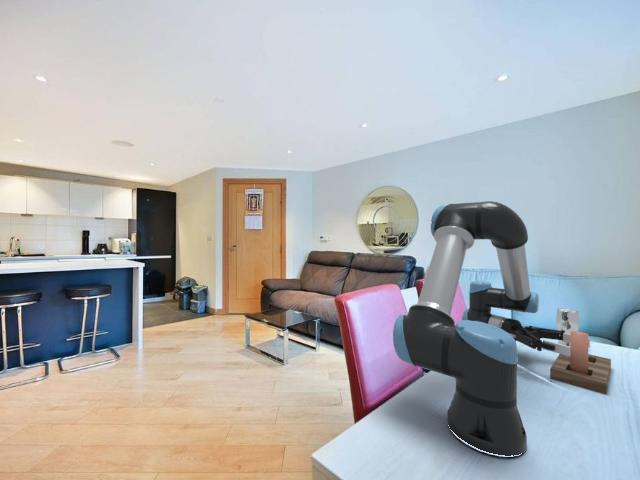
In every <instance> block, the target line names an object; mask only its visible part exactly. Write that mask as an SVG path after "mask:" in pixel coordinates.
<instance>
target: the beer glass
mask: <svg viewBox="0 0 640 480" xmlns="http://www.w3.org/2000/svg"><path fill="white" fill-rule="evenodd" d="M579 312H580V311H578V310H575V309H569V308H557V309H556V317H555V324H556V330H559V331H562V330H564V331H565V333H566V334H570V332H571V331H578V332H579V331H580V330H579V329H580V314H579ZM557 343H558V344H562V345H566V346H569V347H570V343H567V342H563V341H562V340H557Z"/></svg>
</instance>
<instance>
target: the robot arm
mask: <svg viewBox="0 0 640 480" xmlns="http://www.w3.org/2000/svg"><path fill="white" fill-rule="evenodd" d="M430 232H431V235H432V236H433V238H434V241H435V243H436V244H435V247H434V250H433V254H432V257H431V260H430V263H429V266H428V269H427V272H426V276H425V279H424V282H423V284H422V285H423V286H422V288H421V291H420V293H419V294H420V295H419V298H418V300H417V303H415V304H412V305H410V307H409V308H408V312H407V314H400V315H399V316H397V318H395V322H394V325H393V329H392V330H393V331H392V341H393V348H394V352H395V354H396V356H397V357H398V358H399V360H401V361H402V362H404V363H408V364H411V365H412V366H414V367H419V368H422V369H426V370H428V371H432V372H435V373H438V374H441V375H446V376H448V377H452V378H455V391H454V393H453V397H452V400H451V402H450V406H449V408H448V409H447V413H446V417H447V418H446V423H447V422H448V425H449V427H450V429H451V430H452V431H453V432H454V433H455V434H456V435H457V436H458V437H459V438H461V439H462V440H464V441H465V442H467V443H468V444H470V445H472V446H474V447H476V448H478V449H480V450H483V451H486V452H489V453H493V454H498V455H505V456H511V455H513V456H514V455H519V454H521V453H523V452H524V451H525V450H526V451H527V447H528V446H527V445H528V444H527V443H528V437H527V431H526V429H525V427H524V423H523V420H522V417H521V414H520V410H519V409H518V404H517V403H518V402H517V401H518V395H517V393H518V391H517V390H518V388H517V387H518V386H517V385H518V383H517V382H518V363H519V357H518V347H517V342H519V343H520V344H523V345H524V346H527V347H529V348H531V349H533V350H537V351H539V352H542V351H543V350H544V351H545V350H546V351H548V352H552V353H556V354H558V355H559V354H562V355H565V356H570V347H569V346H566V345H562V344H558V342H553V341H550V340H555V341H558V340H562V341H563V342H567V343H570V334H566V333H565V331H564V330H562V331H559V330H558V329H551V328H550V329H549V328H546V327H545V328H544V327H538V326H533V325H529V326H523V325H522V323H521V321H519V320H518V319H513V318H510V317H506V316H502V315H498V314H492V308H493V309H494V308H495V309H501V310H507V311H512V312H513V311H514V312H520V313H530V314H536V313H537V312H538V311H539V305H540V303H539V301H540V300H539V294H538V292H534V291H531V287H530V279H529V278H530V277H529V270H528V263H527V256H526V255H527V254H526V244H527V243H528V240H529V236H528V234H529V233H528V230H527V226H526V224H525V223H524V221H523V219H522V217H520V216H519V214H518V213H517V212H516V211H514V210H513V209H512V208H510V207H509V206H507V205H506V204H503V203H501V202H498V201H490V200H487V201H486V200H485V201H478V202H464V203H463V202H461V203H447V204H444V205H443V204H442V205H440V206H438V207H436V209H435V210H434V211H433V213H432V216H431V221H430ZM475 240H489V241H490V243H491V245H492V246H493V248H495V249H496V253H497V255H496V256H497V259H498V264H499V269H500V274H501V280H502V284H503V288H498V287H492V283H491V282H489V281H484V280H473V281H470V283H469V292H468V295H469V297H468V298H469V299H468V300H469V308H466V309H465V310H464V311H463V313H462V316H461V320H459V321H457V322H456V321H455V319H454V318H453V316H452V315H451V313H452V309H453V305H454V301H455V298H456V293H457V289H458V286H459V285H458V284H459V280H460V276H461V274H462V269H463V265H464V260H465V256H466V254H467V253H466V252H467V250H469V249H471V248H472V247H473V246H474V244H475ZM455 322H456V324H455ZM590 347H591V339H589V338H588V349H590ZM448 425H447V426H448ZM526 451H525V452H526ZM525 452H524V453H525ZM524 453H523V454H524Z"/></svg>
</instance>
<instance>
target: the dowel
mask: <svg viewBox="0 0 640 480" xmlns="http://www.w3.org/2000/svg"><path fill="white" fill-rule="evenodd" d="M588 339H589V334H588V333H586V332H584V331H579V330H578V331H571V332H570V371H573V372H577V373H581V374H585V375H588V354H589V348H588Z"/></svg>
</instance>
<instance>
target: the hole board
mask: <svg viewBox="0 0 640 480" xmlns="http://www.w3.org/2000/svg"><path fill="white" fill-rule="evenodd" d="M611 366H612V359H611V358H609V357H604V356H603V357H602V356H597V355H593V354H590V353H588V375H585V374H581V373H577V372H573V371H570V356H565V355H562V354H559V353H558V356H557V357H556V359H555V361H554V362H553V364H552V365H551V367H550V370H549V375H550V376H549V377H550V378H549V379H551V380H550V381H549V382H550V383H554V384H555V381H558V382H561V383H563V384H564V383H565V384H568V385H571V386H575V387H578V388H582V389H586V390H588V391H591V392H596V393H599V394H602V395H606V396H607V394H608V389H609V388H608V387H609V382H610V381H609V380H610V376H611V370H612V367H611ZM552 380H555V381H552Z"/></svg>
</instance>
